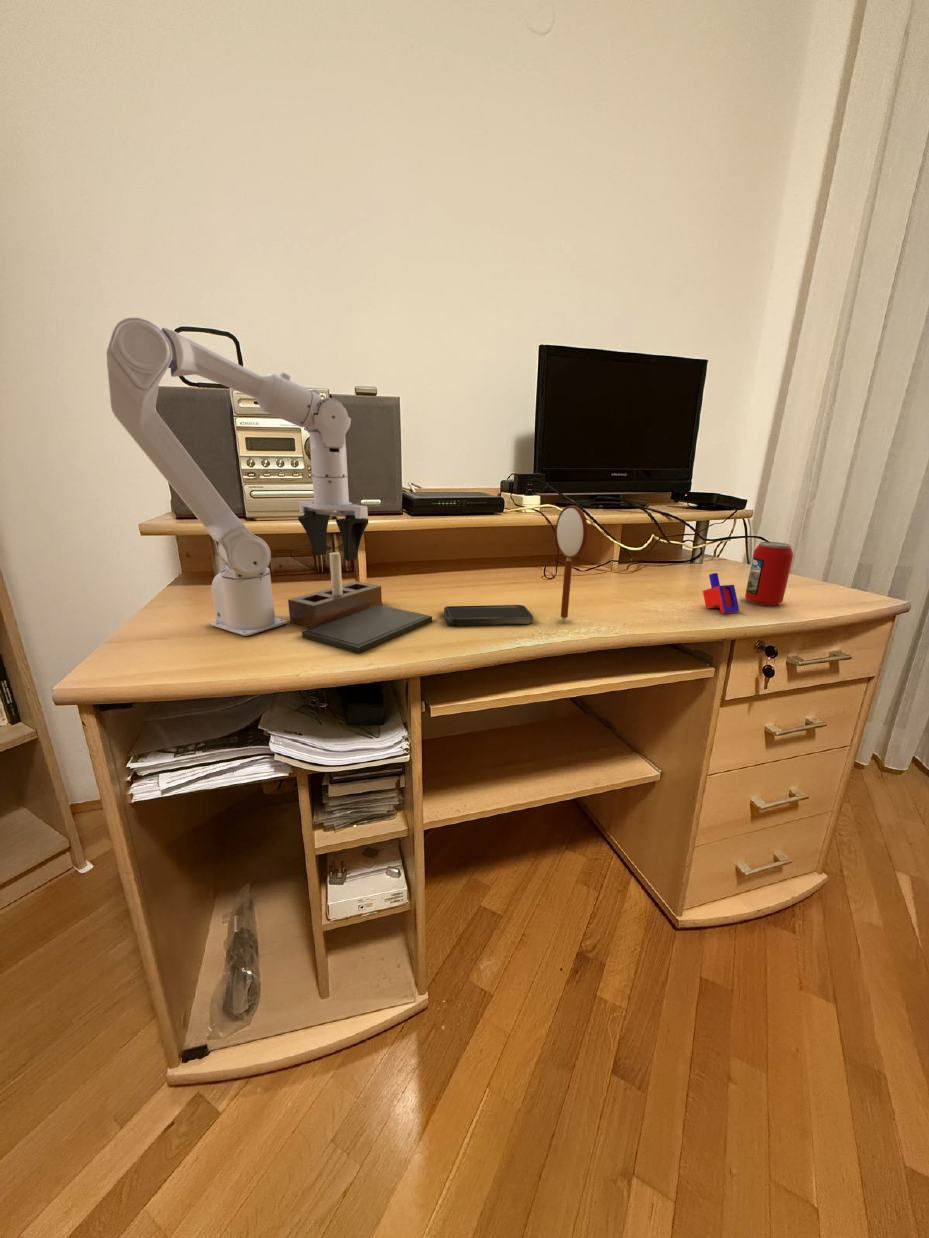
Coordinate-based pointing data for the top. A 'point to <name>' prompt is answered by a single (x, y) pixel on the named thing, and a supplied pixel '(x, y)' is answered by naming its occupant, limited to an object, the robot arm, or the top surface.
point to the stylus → (336, 573)
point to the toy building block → (721, 596)
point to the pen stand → (333, 604)
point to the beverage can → (769, 573)
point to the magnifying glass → (570, 545)
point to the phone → (487, 615)
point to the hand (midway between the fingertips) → (335, 557)
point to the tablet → (367, 628)
